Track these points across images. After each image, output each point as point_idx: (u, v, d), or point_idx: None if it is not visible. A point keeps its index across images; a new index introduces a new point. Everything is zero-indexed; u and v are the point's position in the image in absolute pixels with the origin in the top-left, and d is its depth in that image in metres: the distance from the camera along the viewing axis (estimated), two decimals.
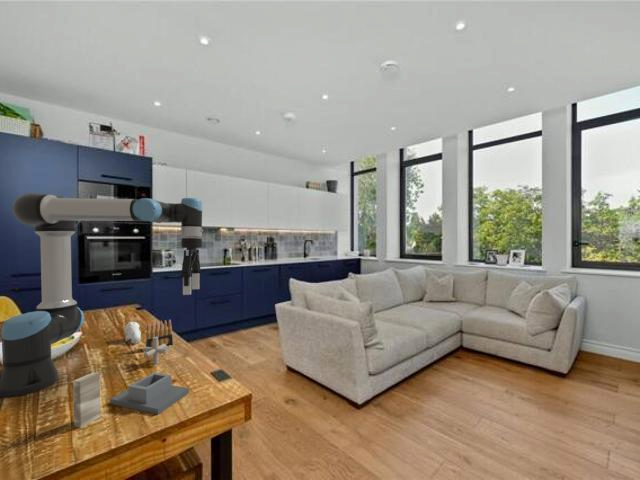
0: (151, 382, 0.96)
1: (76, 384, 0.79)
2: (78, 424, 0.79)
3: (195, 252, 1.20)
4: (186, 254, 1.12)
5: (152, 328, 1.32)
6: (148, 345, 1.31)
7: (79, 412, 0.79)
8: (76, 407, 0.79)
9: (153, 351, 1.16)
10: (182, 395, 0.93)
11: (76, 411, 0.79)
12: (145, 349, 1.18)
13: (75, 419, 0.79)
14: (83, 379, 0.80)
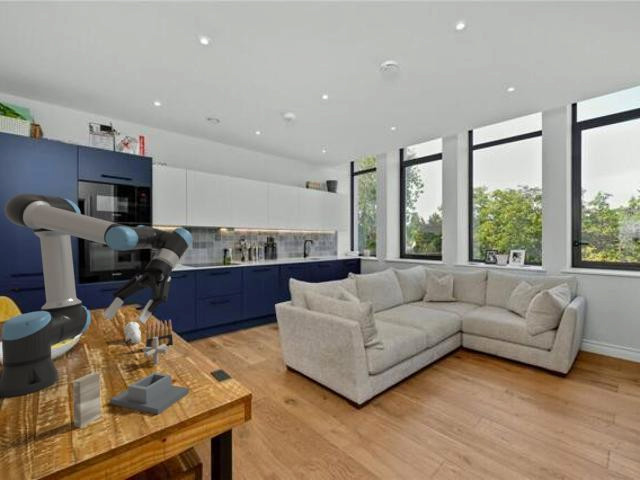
0: (151, 382, 0.96)
1: (76, 384, 0.79)
2: (78, 424, 0.79)
3: None
4: (168, 279, 0.99)
5: (152, 328, 1.32)
6: (148, 345, 1.31)
7: (79, 412, 0.79)
8: (76, 407, 0.79)
9: (153, 351, 1.16)
10: (182, 395, 0.93)
11: (76, 411, 0.79)
12: (145, 349, 1.18)
13: (75, 419, 0.79)
14: (83, 379, 0.80)
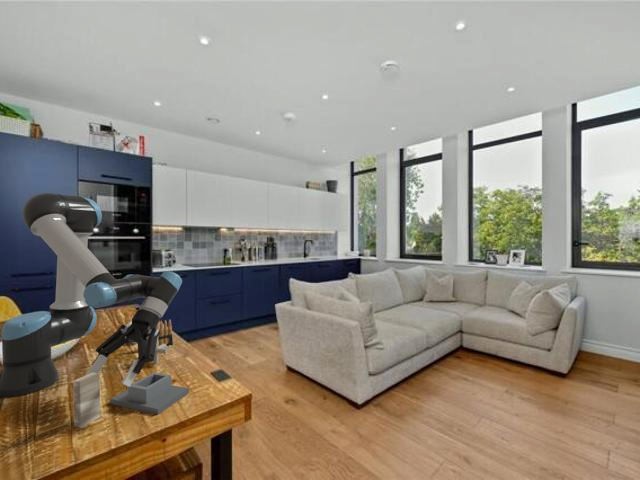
0: (151, 382, 0.96)
1: (76, 384, 0.79)
2: (78, 424, 0.79)
3: None
4: (155, 333, 0.92)
5: None
6: None
7: (79, 412, 0.79)
8: (76, 407, 0.79)
9: None
10: (182, 395, 0.93)
11: (76, 411, 0.79)
12: None
13: (75, 419, 0.79)
14: (83, 379, 0.80)
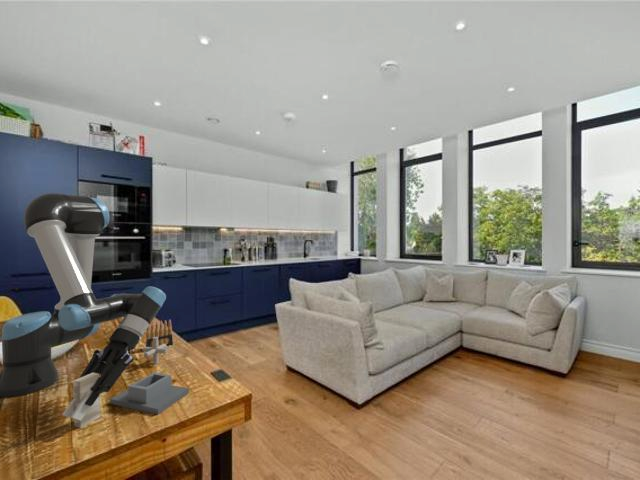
0: (151, 382, 0.96)
1: (76, 384, 0.79)
2: (78, 424, 0.79)
3: None
4: (126, 361, 0.85)
5: (152, 328, 1.32)
6: (148, 345, 1.31)
7: None
8: (76, 406, 0.79)
9: (153, 351, 1.16)
10: (182, 395, 0.93)
11: None
12: (145, 349, 1.18)
13: (75, 419, 0.79)
14: (83, 379, 0.80)
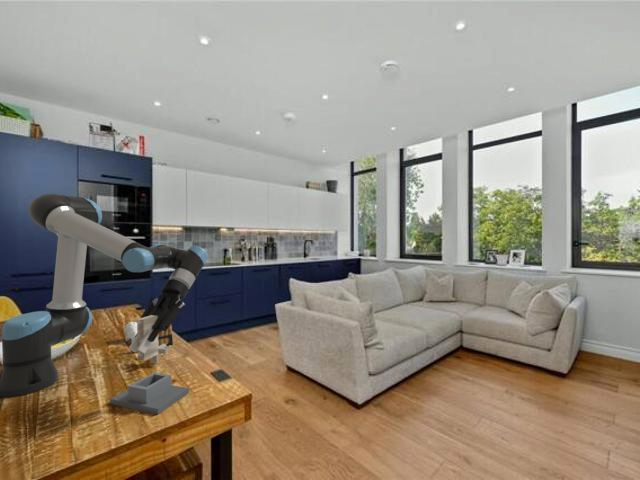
0: (151, 382, 0.96)
1: (139, 322, 0.89)
2: (141, 357, 0.89)
3: None
4: (179, 306, 0.96)
5: None
6: None
7: None
8: (140, 342, 0.89)
9: None
10: (182, 395, 0.93)
11: None
12: None
13: (139, 353, 0.90)
14: (145, 318, 0.90)
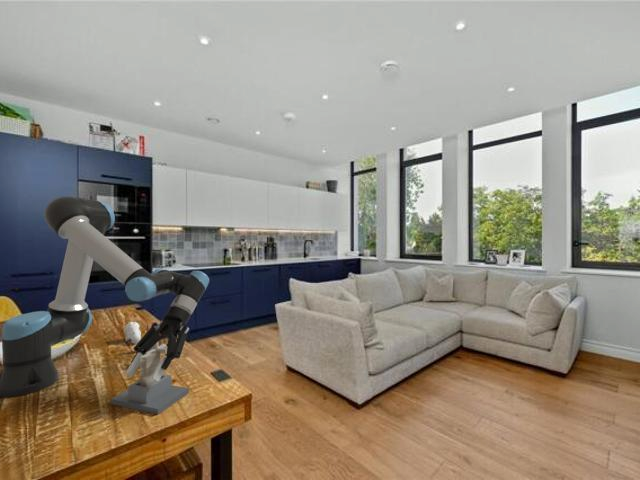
0: None
1: (142, 360, 0.90)
2: None
3: None
4: (185, 331, 0.97)
5: None
6: None
7: (145, 384, 0.90)
8: (143, 379, 0.90)
9: None
10: (182, 395, 0.93)
11: (143, 383, 0.90)
12: None
13: None
14: (148, 356, 0.91)
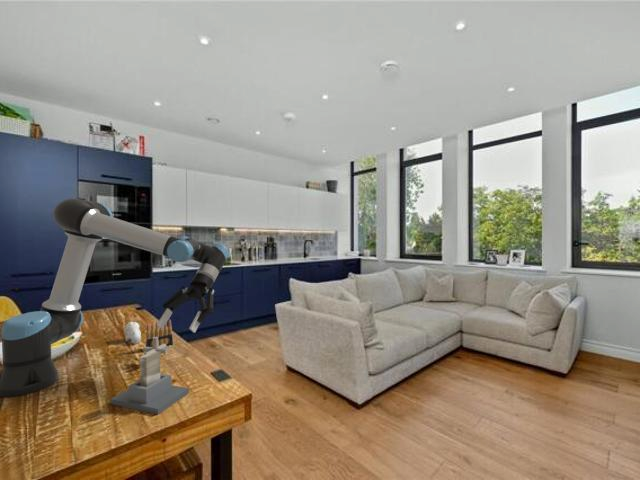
0: None
1: (142, 360, 0.90)
2: None
3: None
4: (212, 292, 1.10)
5: (152, 328, 1.32)
6: (148, 345, 1.31)
7: (145, 384, 0.90)
8: (143, 379, 0.90)
9: None
10: (182, 395, 0.93)
11: (143, 383, 0.90)
12: (145, 349, 1.18)
13: None
14: (148, 356, 0.91)
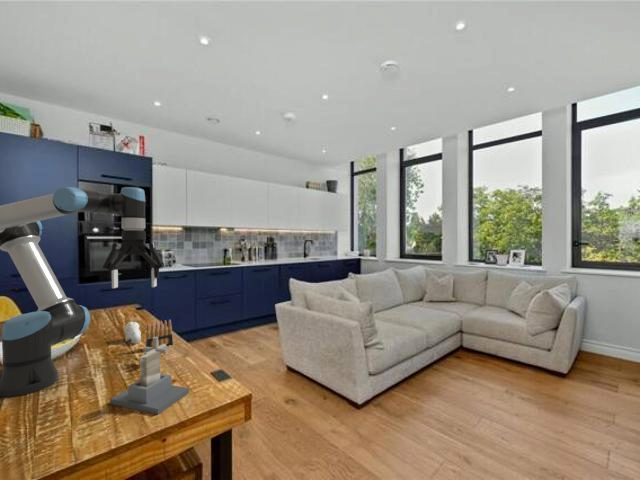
0: None
1: (142, 360, 0.90)
2: None
3: None
4: (153, 246, 1.13)
5: (152, 328, 1.32)
6: (148, 345, 1.31)
7: (145, 384, 0.90)
8: (143, 379, 0.90)
9: None
10: (182, 395, 0.93)
11: (143, 383, 0.90)
12: (145, 349, 1.18)
13: None
14: (148, 356, 0.91)
